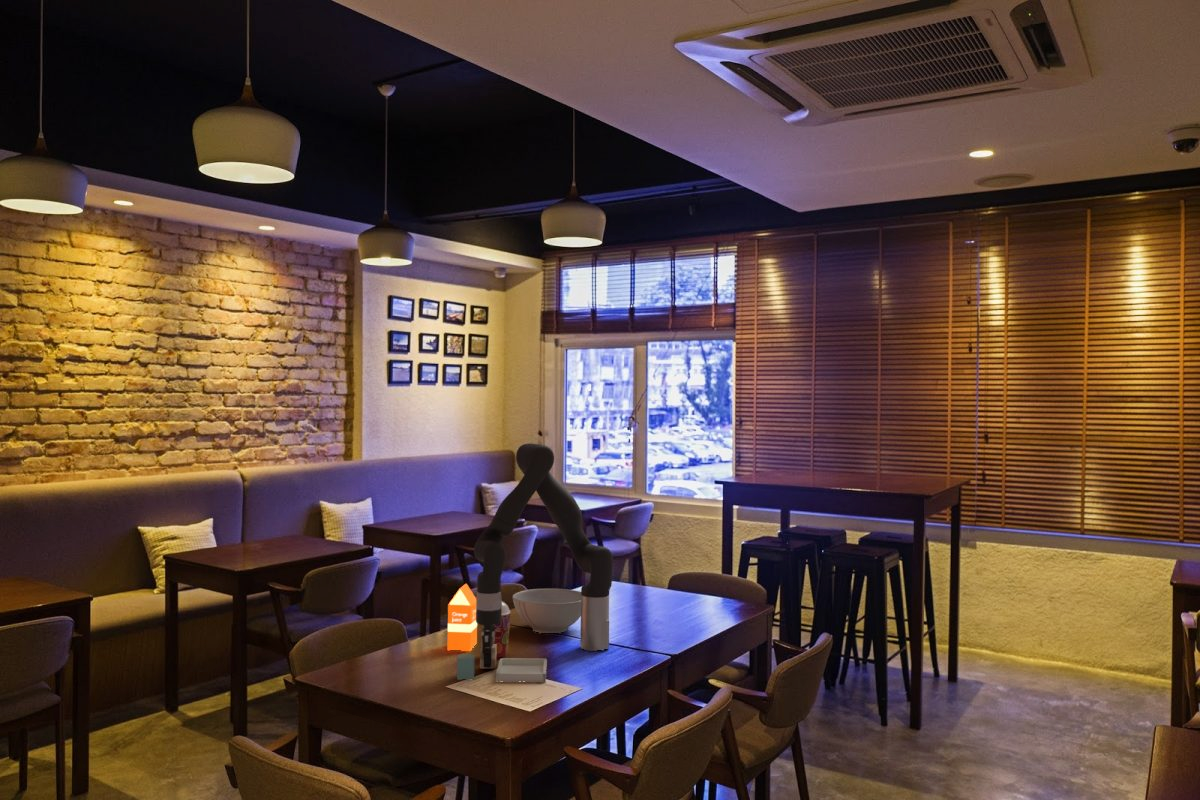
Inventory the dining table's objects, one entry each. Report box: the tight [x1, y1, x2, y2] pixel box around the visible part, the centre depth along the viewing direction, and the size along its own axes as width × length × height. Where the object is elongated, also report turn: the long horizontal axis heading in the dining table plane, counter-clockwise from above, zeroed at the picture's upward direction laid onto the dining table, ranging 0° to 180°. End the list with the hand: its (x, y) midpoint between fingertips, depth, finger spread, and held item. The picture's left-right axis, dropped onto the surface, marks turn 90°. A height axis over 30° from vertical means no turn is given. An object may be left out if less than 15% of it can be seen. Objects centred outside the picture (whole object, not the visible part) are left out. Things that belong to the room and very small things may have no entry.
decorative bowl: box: [512, 588, 581, 634], centre depth 311 cm, size 27×27×12 cm
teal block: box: [456, 653, 476, 681], centre depth 253 cm, size 4×4×6 cm
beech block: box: [479, 643, 498, 670], centre depth 261 cm, size 4×4×6 cm
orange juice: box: [446, 583, 478, 652], centre depth 286 cm, size 8×9×20 cm
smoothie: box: [494, 600, 512, 659], centre depth 276 cm, size 8×8×20 cm
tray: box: [495, 657, 548, 683], centre depth 257 cm, size 14×16×2 cm
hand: (488, 664), depth 261 cm, fingers closed on beech block, 4 cm apart
